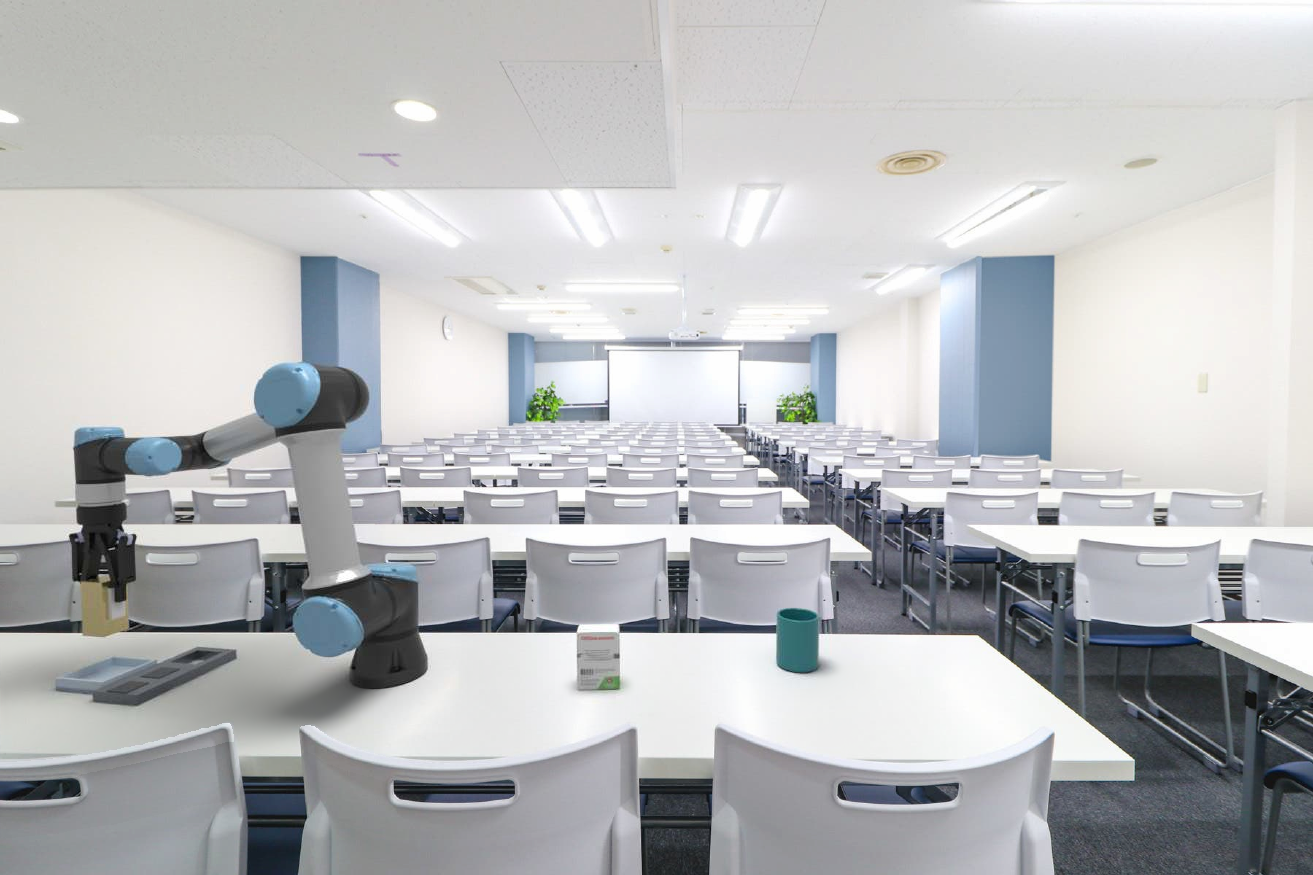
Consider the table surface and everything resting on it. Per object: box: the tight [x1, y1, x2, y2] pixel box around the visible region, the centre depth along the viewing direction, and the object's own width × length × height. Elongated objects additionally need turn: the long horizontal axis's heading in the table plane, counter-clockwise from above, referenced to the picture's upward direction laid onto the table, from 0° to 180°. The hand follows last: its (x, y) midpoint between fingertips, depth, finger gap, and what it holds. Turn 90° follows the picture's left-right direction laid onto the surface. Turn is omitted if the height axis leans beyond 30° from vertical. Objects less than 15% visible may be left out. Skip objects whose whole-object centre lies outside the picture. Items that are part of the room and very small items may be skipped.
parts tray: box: [54, 655, 158, 695], centre depth 124 cm, size 11×11×2 cm
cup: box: [775, 607, 820, 674], centre depth 134 cm, size 9×12×11 cm
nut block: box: [80, 574, 130, 638], centre depth 123 cm, size 5×5×11 cm
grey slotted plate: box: [92, 646, 238, 707], centre depth 125 cm, size 10×22×2 cm, turn 171°
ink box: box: [576, 623, 621, 691], centre depth 123 cm, size 9×5×12 cm, turn 93°
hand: (105, 616), depth 124 cm, fingers closed on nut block, 5 cm apart
